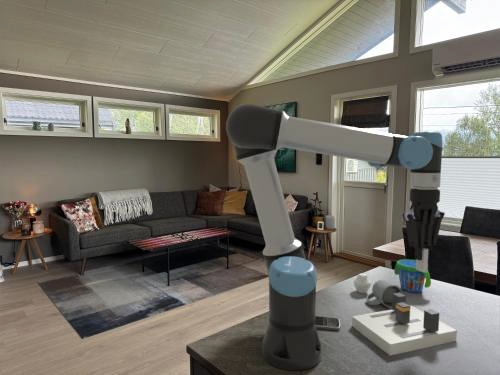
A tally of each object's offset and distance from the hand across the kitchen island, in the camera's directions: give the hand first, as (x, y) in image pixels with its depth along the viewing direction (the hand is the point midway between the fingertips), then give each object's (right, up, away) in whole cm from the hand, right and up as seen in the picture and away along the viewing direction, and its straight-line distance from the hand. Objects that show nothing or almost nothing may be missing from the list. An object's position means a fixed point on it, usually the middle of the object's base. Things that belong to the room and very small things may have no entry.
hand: (421, 270), depth 98 cm
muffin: (-7, -15, +30) cm, 34 cm away
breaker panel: (-6, -18, 0) cm, 19 cm away
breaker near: (0, -15, -5) cm, 16 cm away
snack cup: (+12, -15, +32) cm, 37 cm away
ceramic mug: (-4, -16, +19) cm, 26 cm away
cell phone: (-27, -18, +5) cm, 33 cm away
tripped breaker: (-6, -14, -1) cm, 15 cm away
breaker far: (-4, -14, +6) cm, 16 cm away
